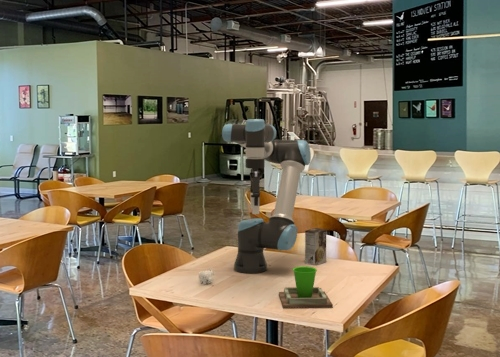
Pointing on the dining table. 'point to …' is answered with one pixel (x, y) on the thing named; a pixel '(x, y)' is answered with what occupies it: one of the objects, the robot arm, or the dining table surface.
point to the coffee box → (315, 246)
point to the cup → (304, 281)
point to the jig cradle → (304, 299)
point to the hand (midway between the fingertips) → (254, 211)
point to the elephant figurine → (206, 276)
